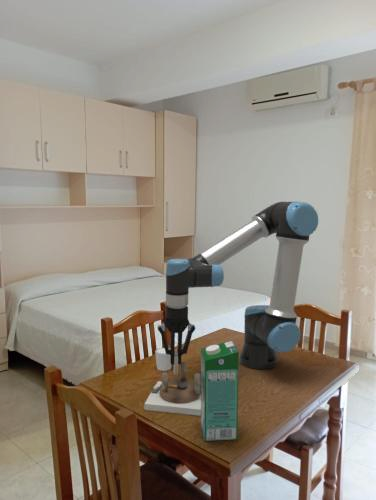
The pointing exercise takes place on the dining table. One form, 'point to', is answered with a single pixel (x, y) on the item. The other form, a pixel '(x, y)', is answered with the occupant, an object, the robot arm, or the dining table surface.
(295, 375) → the dining table surface
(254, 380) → the dining table surface
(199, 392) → the cam capstan
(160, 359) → the white tapered cup
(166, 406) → the stand
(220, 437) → the milk carton
